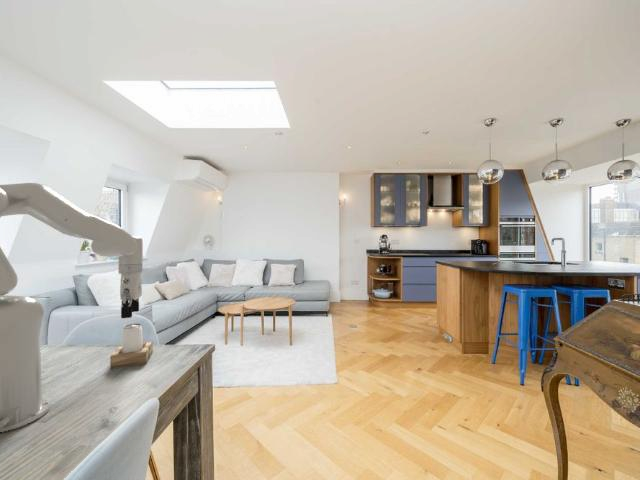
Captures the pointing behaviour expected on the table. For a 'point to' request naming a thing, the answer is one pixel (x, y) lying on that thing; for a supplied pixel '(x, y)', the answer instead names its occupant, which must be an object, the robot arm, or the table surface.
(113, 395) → the table surface
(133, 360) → the socket block
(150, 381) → the table surface
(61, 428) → the table surface
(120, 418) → the table surface
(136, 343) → the can
